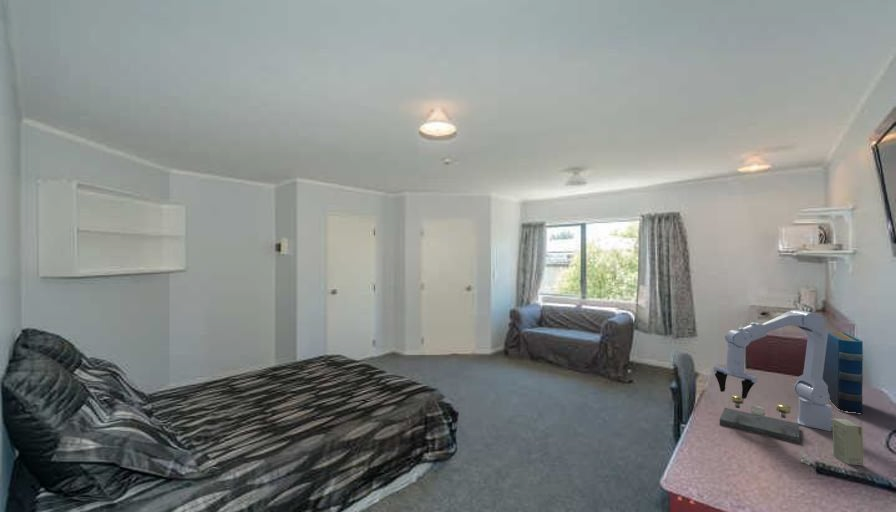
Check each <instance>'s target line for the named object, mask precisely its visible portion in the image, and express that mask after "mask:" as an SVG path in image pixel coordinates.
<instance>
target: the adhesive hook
mask: <svg viewBox="0 0 896 512" xmlns="http://www.w3.org/2000/svg"><path fill="white" fill-rule="evenodd" d="M799 462H800V463H802V464H806V465H808V466H810V465H812V464H813V465H812V466H814V465H815V464H814V463H813V461H811V460H810V455H808V453H803V454H802V456H801V459H800V460H799Z"/></svg>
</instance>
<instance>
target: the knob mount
mask: <svg viewBox="0 0 896 512" xmlns="http://www.w3.org/2000/svg"><path fill="white" fill-rule="evenodd" d="M719 425H721V426H725V427H730V428H734V429H737V430H742V431H747V432H750V431H751V432H750V433H754V432H755V434H758V433H759V434H758V435H762V434H763V436H766V435H767V436H766V437H772V438H775V439H779V440H784V441H787V442H791V441H792V442H791V443H795V442H797V443H796V444H800V425H799V424H798V423H797V422H795V421H789V420H783V419H779V418H774V417H771V416H770V417H769V416H765V415H764V416H761V420H756V419H755V414H753V413H751V412H747V411H742V410H738V409H732V408H729V407H724V409H723V411H722V414H721V416H720V418H719Z"/></svg>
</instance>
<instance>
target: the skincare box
mask: <svg viewBox="0 0 896 512" xmlns="http://www.w3.org/2000/svg"><path fill="white" fill-rule="evenodd" d="M863 441H864V440H863V426H862V425H861V424H860V425H859V424H857V423H855V422H853V421H851V420H849V419H848V418H847V419H844V418H834V417H833V418H832V447H833V448H832V455H833V456H834V457H835V458H837V459H839V460H840V461H842V462H844V463H845V464H847V465H854V466H864V448H863V447H864V444H863Z"/></svg>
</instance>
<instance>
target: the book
mask: <svg viewBox="0 0 896 512" xmlns="http://www.w3.org/2000/svg"><path fill="white" fill-rule="evenodd" d="M827 332H828V338H827V346H826V354H825V362H824V370H823V378H822V379H823V380H824V382H825V383H826V384H827V386H828V393H829V396H830V397H829V399H830V400H831V402H832V403H833V404H834V405H835V406H836V407H837V408H838V409H840V410H843V411H848V412H856V413H861V412H862V413H863V402H864V401H863V400H864V399H863V397H864V396H863V381H864V380H863V379H864V374H863V361H864V354H863V350H864V349H863V346H864V344H863V340H861V339H859V338H858V337H855V336H854V335H851V334H849V333H848V332H845V331H842V332H834V331H827ZM831 402H830V403H831ZM832 403H831V404H832Z"/></svg>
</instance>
